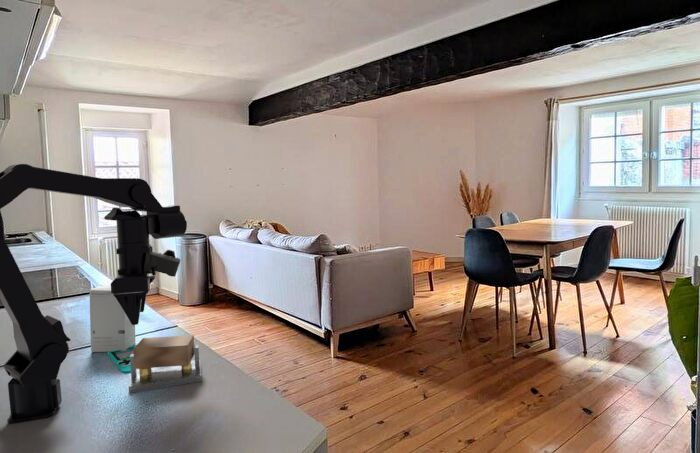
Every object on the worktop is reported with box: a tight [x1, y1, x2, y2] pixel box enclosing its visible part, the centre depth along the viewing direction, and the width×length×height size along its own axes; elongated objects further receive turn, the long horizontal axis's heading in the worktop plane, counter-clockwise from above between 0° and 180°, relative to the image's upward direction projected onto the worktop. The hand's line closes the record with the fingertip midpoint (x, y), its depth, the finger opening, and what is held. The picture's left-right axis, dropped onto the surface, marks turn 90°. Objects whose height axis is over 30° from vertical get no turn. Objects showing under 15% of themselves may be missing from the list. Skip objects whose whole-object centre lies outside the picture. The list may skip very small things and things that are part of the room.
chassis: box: [128, 344, 203, 394], centre depth 92 cm, size 13×9×6 cm
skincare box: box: [89, 284, 136, 353], centre depth 109 cm, size 8×6×15 cm
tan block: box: [132, 334, 195, 369], centre depth 91 cm, size 10×6×4 cm, turn 98°
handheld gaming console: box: [107, 344, 137, 374], centre depth 103 cm, size 8×1×15 cm
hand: (138, 318), depth 93 cm, fingers open, 9 cm apart
